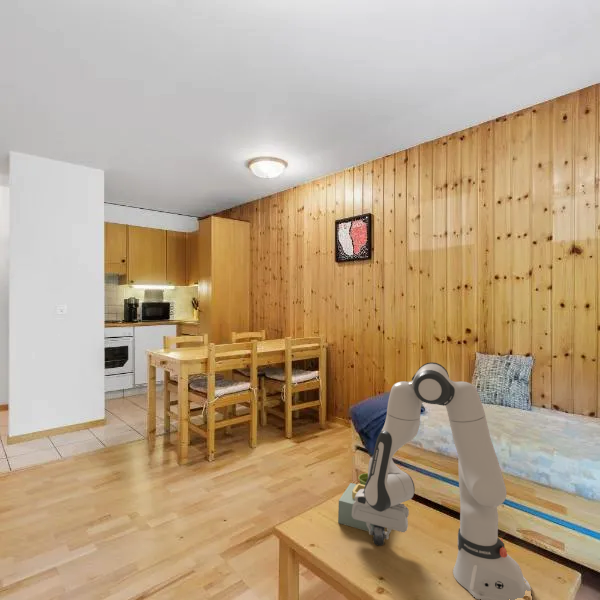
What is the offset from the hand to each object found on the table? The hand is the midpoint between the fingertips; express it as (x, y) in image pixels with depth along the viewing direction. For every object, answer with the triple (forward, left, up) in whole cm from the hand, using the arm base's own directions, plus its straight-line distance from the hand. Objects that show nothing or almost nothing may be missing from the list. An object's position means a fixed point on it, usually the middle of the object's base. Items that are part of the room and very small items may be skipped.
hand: (378, 536), depth 142 cm
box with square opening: (+9, -13, -2) cm, 16 cm away
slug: (0, 0, -2) cm, 2 cm away
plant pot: (+11, -30, -3) cm, 32 cm away
